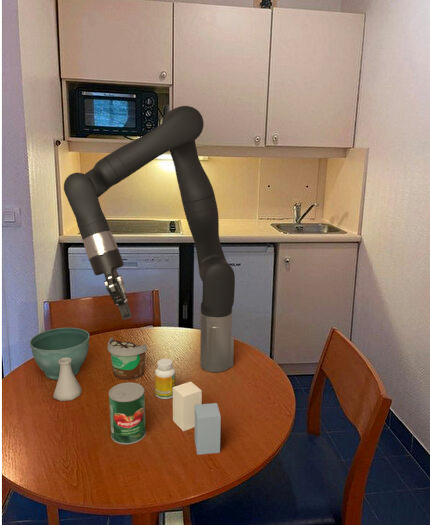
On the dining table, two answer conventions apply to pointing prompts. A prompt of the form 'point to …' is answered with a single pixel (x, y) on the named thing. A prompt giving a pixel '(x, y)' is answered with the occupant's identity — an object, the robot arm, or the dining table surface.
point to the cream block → (185, 404)
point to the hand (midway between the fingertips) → (127, 318)
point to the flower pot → (60, 349)
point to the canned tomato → (127, 413)
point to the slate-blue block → (207, 428)
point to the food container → (127, 359)
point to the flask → (66, 382)
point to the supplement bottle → (164, 379)
